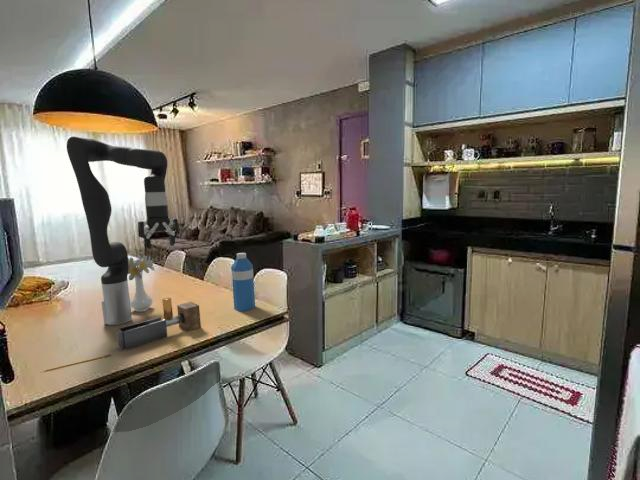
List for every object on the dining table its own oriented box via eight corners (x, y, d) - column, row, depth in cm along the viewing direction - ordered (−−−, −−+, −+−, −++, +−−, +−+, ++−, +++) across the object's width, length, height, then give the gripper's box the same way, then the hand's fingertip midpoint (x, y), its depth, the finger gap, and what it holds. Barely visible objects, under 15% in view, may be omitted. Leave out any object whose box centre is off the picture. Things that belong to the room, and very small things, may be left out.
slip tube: (151, 332, 124) (148, 304, 122) (148, 330, 126) (145, 302, 124) (194, 320, 135) (191, 294, 133) (190, 318, 137) (188, 292, 136)
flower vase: (126, 318, 147) (120, 261, 144) (127, 306, 163) (121, 254, 160) (160, 312, 153) (154, 257, 150) (157, 301, 169) (152, 251, 166)
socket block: (187, 331, 131) (185, 309, 130) (179, 327, 136) (177, 305, 135) (200, 327, 135) (199, 305, 134) (192, 323, 140) (190, 301, 139)
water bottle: (234, 312, 151) (230, 256, 147) (233, 305, 160) (230, 252, 156) (256, 309, 153) (252, 254, 150) (254, 303, 162) (251, 251, 159)
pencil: (112, 356, 114) (112, 353, 114) (112, 356, 113) (112, 353, 114) (39, 374, 104) (39, 371, 104) (39, 374, 103) (39, 371, 104)
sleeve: (123, 351, 116) (121, 332, 115) (118, 346, 120) (116, 328, 119) (167, 337, 127) (165, 320, 126) (161, 333, 130) (160, 316, 129)
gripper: (171, 203, 137) (175, 243, 140) (132, 205, 127) (137, 248, 130) (179, 203, 132) (183, 245, 134) (139, 205, 122) (144, 250, 124)
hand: (160, 247), depth 132 cm, fingers open, 8 cm apart
